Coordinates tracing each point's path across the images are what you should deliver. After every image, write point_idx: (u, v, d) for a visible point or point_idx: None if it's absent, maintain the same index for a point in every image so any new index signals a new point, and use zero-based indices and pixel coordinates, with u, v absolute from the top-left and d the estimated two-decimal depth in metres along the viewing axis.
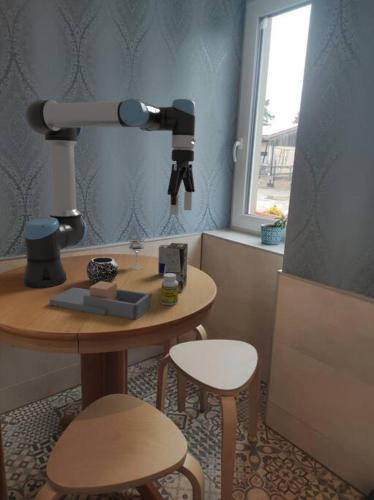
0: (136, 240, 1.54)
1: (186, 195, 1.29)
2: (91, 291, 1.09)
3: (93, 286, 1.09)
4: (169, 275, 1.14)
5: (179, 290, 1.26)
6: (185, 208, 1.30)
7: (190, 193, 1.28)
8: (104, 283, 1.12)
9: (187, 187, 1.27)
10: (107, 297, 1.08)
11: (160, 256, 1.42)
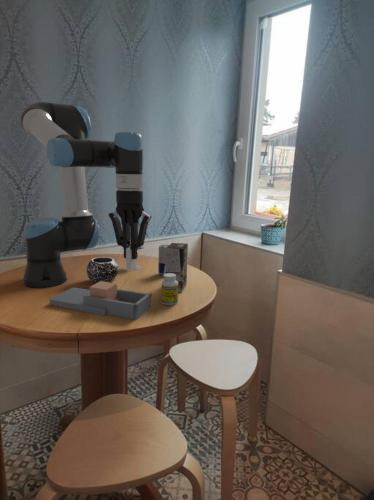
0: None
1: None
2: (91, 291, 1.09)
3: (93, 286, 1.09)
4: (169, 275, 1.14)
5: (179, 290, 1.26)
6: None
7: None
8: (104, 283, 1.12)
9: None
10: (107, 297, 1.08)
11: (160, 256, 1.42)
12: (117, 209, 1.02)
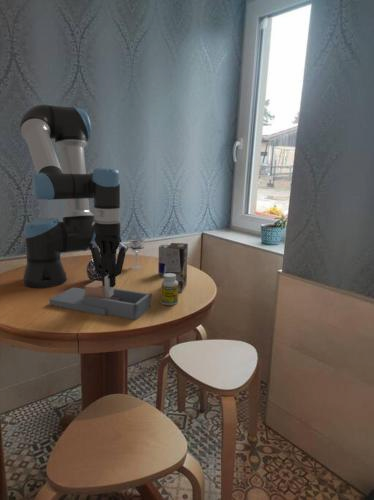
0: (136, 240, 1.54)
1: None
2: (86, 290, 1.10)
3: (88, 286, 1.09)
4: (169, 275, 1.14)
5: (179, 290, 1.26)
6: None
7: None
8: (99, 282, 1.13)
9: None
10: (102, 296, 1.09)
11: (160, 256, 1.42)
12: (96, 240, 1.07)
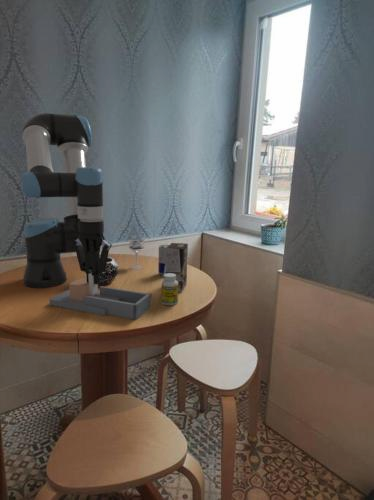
0: (136, 240, 1.54)
1: None
2: (70, 288, 1.11)
3: (72, 283, 1.11)
4: (169, 275, 1.14)
5: (179, 290, 1.26)
6: None
7: None
8: (84, 280, 1.15)
9: None
10: (86, 294, 1.10)
11: (160, 256, 1.42)
12: (79, 238, 1.08)
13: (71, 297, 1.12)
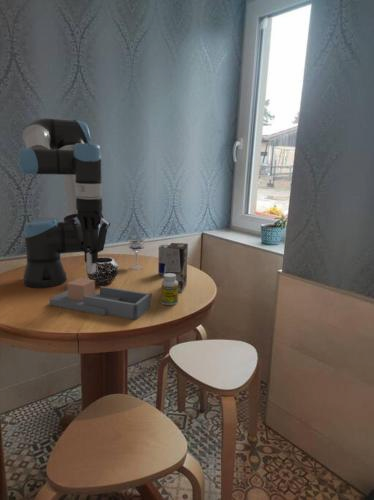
0: (136, 240, 1.54)
1: None
2: (69, 288, 1.12)
3: (70, 283, 1.11)
4: (169, 275, 1.14)
5: (179, 290, 1.26)
6: None
7: None
8: (82, 280, 1.15)
9: None
10: (84, 293, 1.11)
11: (160, 256, 1.42)
12: (78, 216, 1.07)
13: (69, 297, 1.12)
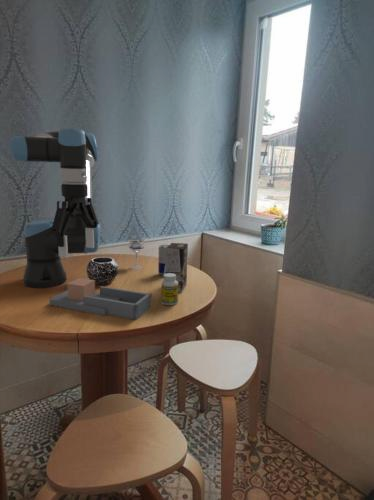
0: (136, 240, 1.54)
1: (87, 231, 1.16)
2: (69, 288, 1.12)
3: (70, 283, 1.11)
4: (169, 275, 1.14)
5: (179, 290, 1.26)
6: (87, 245, 1.17)
7: (91, 229, 1.15)
8: (82, 280, 1.15)
9: (87, 223, 1.15)
10: (84, 293, 1.11)
11: (160, 256, 1.42)
12: (71, 203, 1.04)
13: (69, 297, 1.12)
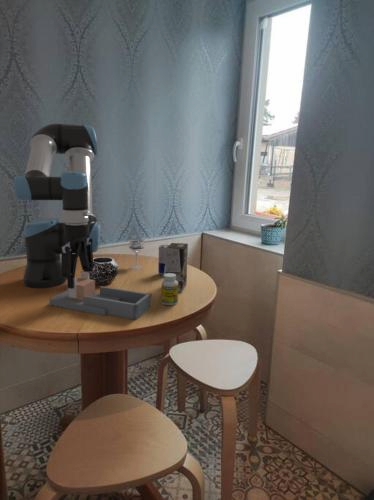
0: (136, 240, 1.54)
1: (82, 274, 1.16)
2: None
3: None
4: (169, 275, 1.14)
5: (179, 290, 1.26)
6: None
7: (86, 273, 1.16)
8: (82, 280, 1.15)
9: (84, 264, 1.15)
10: (84, 293, 1.11)
11: (160, 256, 1.42)
12: (73, 243, 1.07)
13: (70, 297, 1.12)
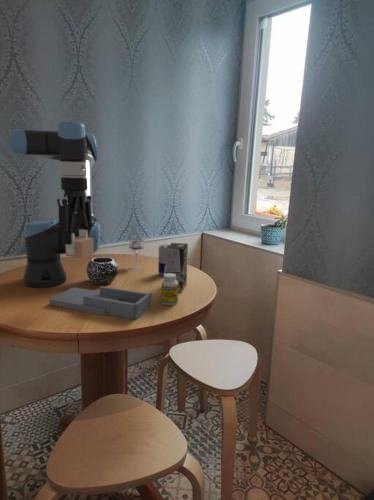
0: (136, 240, 1.54)
1: (81, 233, 1.13)
2: None
3: None
4: (169, 275, 1.14)
5: (179, 290, 1.26)
6: None
7: (85, 231, 1.12)
8: (80, 238, 1.11)
9: (82, 222, 1.12)
10: (82, 250, 1.07)
11: (160, 256, 1.42)
12: (70, 197, 1.04)
13: (67, 254, 1.09)
